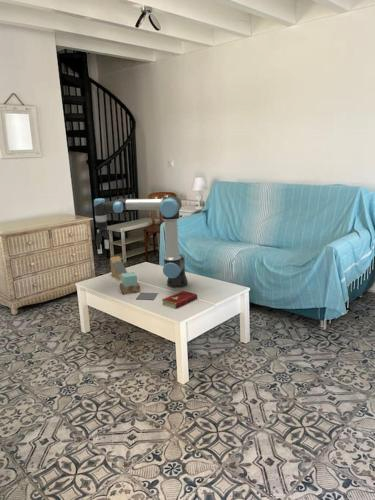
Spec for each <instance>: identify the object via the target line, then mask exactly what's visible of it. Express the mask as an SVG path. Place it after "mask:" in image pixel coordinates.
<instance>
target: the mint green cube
mask: <svg viewBox="0 0 375 500" xmlns="http://www.w3.org/2000/svg"><path fill="white" fill-rule="evenodd" d="M121 277H122V280H121V283H122V284H123V285H124V287H128V286H135V285H137V282H138V277H137V274H136V273H135V272H134V271H130V272H127V273H122V274H121Z"/></svg>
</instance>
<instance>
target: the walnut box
mask: <svg viewBox="0 0 375 500" xmlns="http://www.w3.org/2000/svg"><path fill="white" fill-rule="evenodd" d="M119 290H120V292H121V293H122V295H129V294H137V293H141V284H140V283H139V282H138V281H137V285H135V286H128V287H124V285H123V284H122V282H119Z"/></svg>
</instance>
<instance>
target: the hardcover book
mask: <svg viewBox="0 0 375 500" xmlns="http://www.w3.org/2000/svg"><path fill="white" fill-rule="evenodd" d="M195 299H196V300H197V299H198V294H197V293H195V292H192V291H188V290H184V289H182V290H181V291H179V292H176V293H173V294H172V295H169V296H167V297H164V298H162V299H161V301H162V305H163V306H165V307H166V306H167V307H170V308H173V309H175V310H176V308H177V309H178V308H181V307H183V306H185V305H187V304H189V303H191V301H192V302H194V301H196V300H195Z"/></svg>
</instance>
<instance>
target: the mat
mask: <svg viewBox="0 0 375 500" xmlns="http://www.w3.org/2000/svg"><path fill="white" fill-rule="evenodd" d="M158 294H159V293H158V292H139V294H138V295H137V297H136V298H135V300H138V301H141V300H142V301H143V300H144V301H154V300H155V299H156V297H157V295H158Z"/></svg>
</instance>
